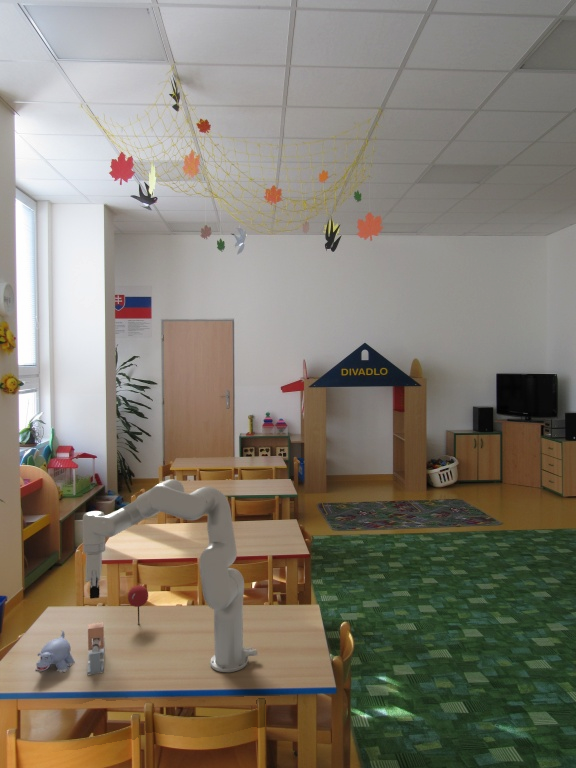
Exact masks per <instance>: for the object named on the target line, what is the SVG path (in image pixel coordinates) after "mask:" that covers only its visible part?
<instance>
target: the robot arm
mask: <svg viewBox="0 0 576 768" xmlns="http://www.w3.org/2000/svg"><path fill="white" fill-rule="evenodd" d="M159 513H164V514H166V515H170V516H173V517H176V518H179V519H182V520H186V521H196V520H199V519H201V518H202V517H203V516H205V515H207V522H206V523H207V524H206V526H207V527H206V528H207V529H206V531H207V535H208V546H207V547H206V548H204V550H203V551H202V553H200V556H199V561H198V562H199V563H198V568H199V575H200V581H201V582H200V583H201V589H202V595H203V599H204V601H205V603H206V605H207V606H208V607H209V608H210V609H212V610H213V611H214V616H213V617H214V618H213V619H214V621H213V623H214V626H213V627H214V628H213V629H214V632H213V633H214V655H212V656H211V658H210V662H209V664H210V667H211V668H212V669H213V670H214V671H217V672H220V673H233V672H237V671H240V670H243V669H244V668H245V667H246V666H247V665H248V663H249V657H253V656H258V649H257V648H254V649H252V648H253V647H251V646H250V647H245V646H244V633H243V632H244V620H243V619H244V618H243V614H244V613H243V607H244V606H243V605H244V595H245V594H244V593H245V581H244V580H245V579H244V577H243V575H242V573H241V572H240V571H239V570H238V569H236V568H233V567H231V566H232V564H234V562H235V561H236V559H237V557H238V555H237V554H238V551H237V545H236V538H235V533H234V532H235V531H234V525H233V518H232V510H231V505H230V503H229V500H228V499H227V497H226V495H225V494H224V493H223V492H222V491H221V490H219V489H217V488H214V487H211V486H203V487H200V488H198V489H195V490H193V491H192V492H190V493H186V492H185V488H184V485H183V483H182V482H181V481H179V480H178V479H175V478H174V479H173V478H172V479H167V480H164V481H162V482H160V483H158V484H155V485H154V486H152V488H150V489H149V490H147V491H145V492H143V493H141V494H139V495H138V496H137V497H136V499H135V500H134V501H131V503H128V504H127V505H125V506H123V507H121V508H119V509H118V510H114V511H112V512H111V513H109V514H105V513H104V512H103V511H101V510H100V511H99V510H91V511H88V512H85V513H84V514H83V516H82V552H83V553H84V554H85V582H86V583H88V582H90V585H89V598H90V599H91V600H92V599H93V600H94V599H99V598H100V585H99V583H100V580H101V577H102V570H103V569H102V567H103V566H102V564H103V563H102V562H103V556H102V555H103V552H105V551H106V538H112V537H114V536H115V537H116V535H118V534H120V533H122V532H123V531H126V530H128V528H130V527H132V526H134V525H136V524H138V523H140V522H141V521H143V520H145V519H150V518H153V517H155V516H156V515H157V514H159Z"/></svg>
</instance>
